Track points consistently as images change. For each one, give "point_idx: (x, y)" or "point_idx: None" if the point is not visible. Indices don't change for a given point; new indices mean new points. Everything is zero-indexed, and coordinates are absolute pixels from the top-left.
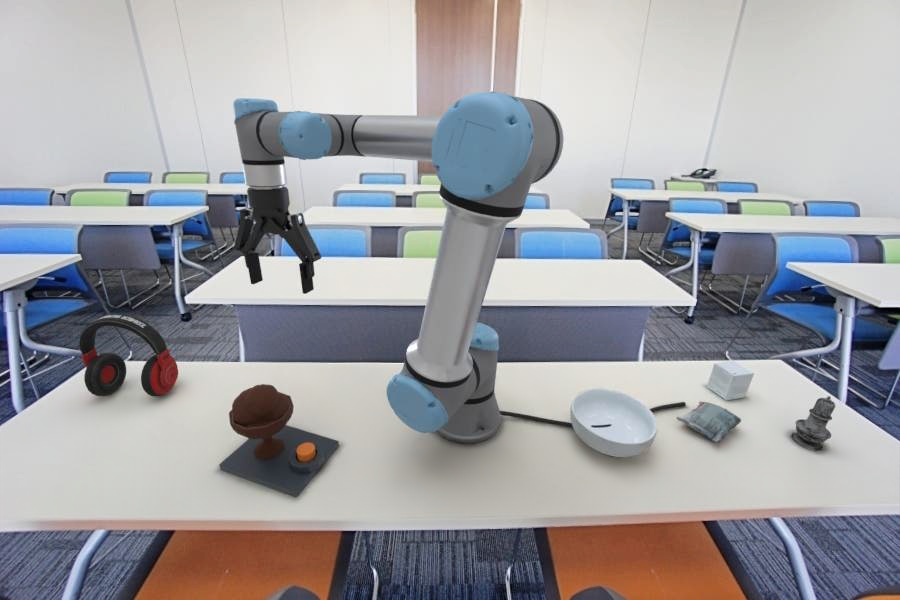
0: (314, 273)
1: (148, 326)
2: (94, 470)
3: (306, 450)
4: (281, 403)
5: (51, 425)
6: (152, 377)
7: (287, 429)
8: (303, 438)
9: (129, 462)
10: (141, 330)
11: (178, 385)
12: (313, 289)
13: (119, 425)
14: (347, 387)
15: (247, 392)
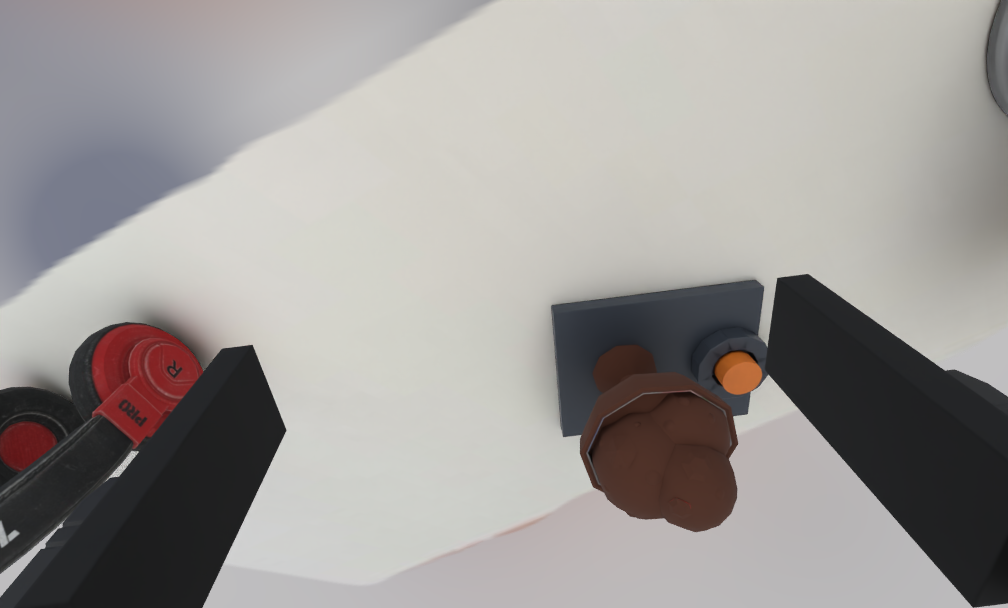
0: (996, 390)
1: (7, 512)
2: (358, 514)
3: (747, 381)
4: (727, 448)
5: None
6: None
7: (620, 315)
8: (677, 318)
9: (389, 484)
10: (36, 537)
11: (167, 316)
12: (808, 278)
13: None
14: (646, 59)
15: (654, 506)
